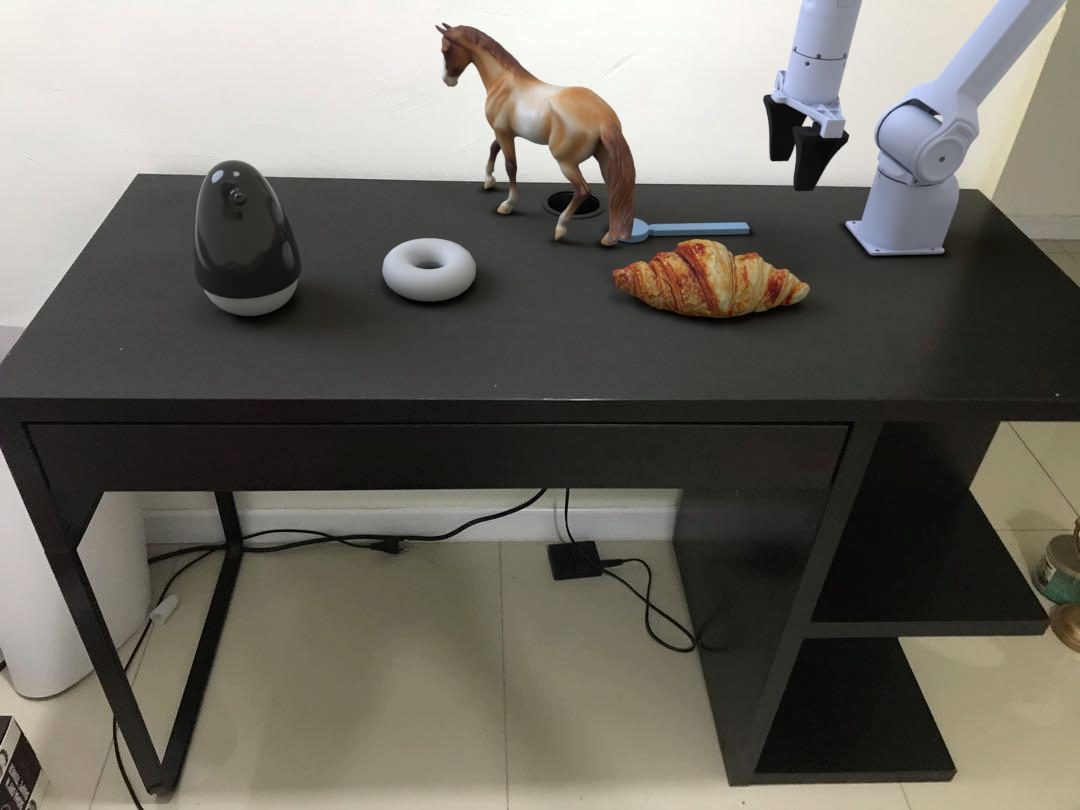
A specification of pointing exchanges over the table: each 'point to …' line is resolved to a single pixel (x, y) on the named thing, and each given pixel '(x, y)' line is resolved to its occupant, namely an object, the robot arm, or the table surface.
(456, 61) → the horse figurine
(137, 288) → the table surface
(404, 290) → the donut
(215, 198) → the pump dispenser
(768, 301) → the croissant
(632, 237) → the spoon
